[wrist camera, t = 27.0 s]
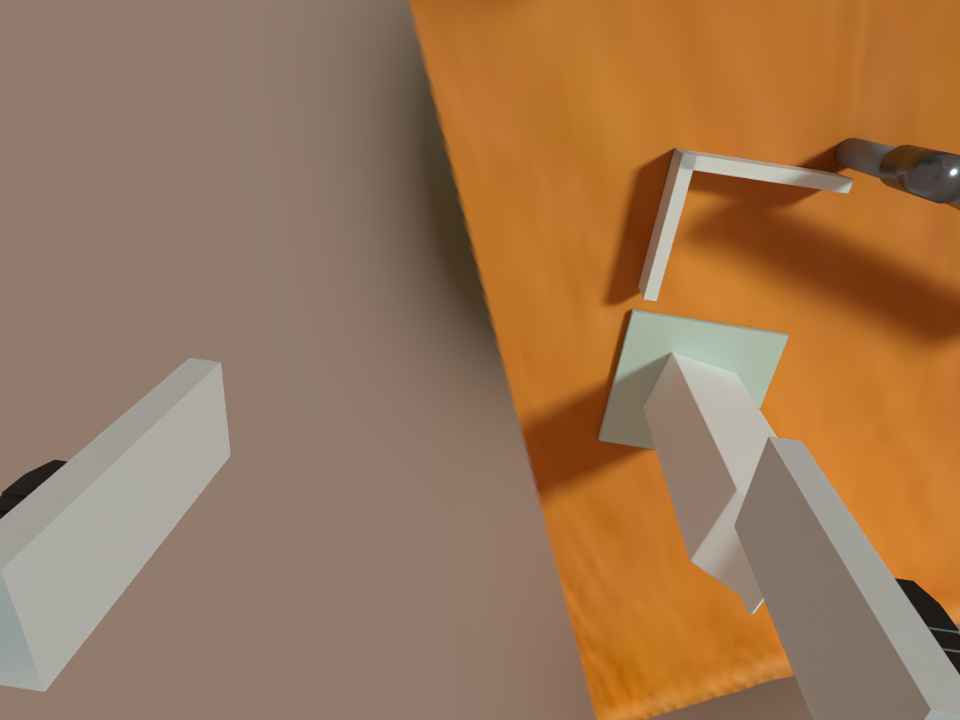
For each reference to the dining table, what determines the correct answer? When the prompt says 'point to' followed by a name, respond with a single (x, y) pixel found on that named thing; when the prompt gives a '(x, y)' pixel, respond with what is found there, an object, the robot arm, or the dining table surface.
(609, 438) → the mat
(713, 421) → the milk
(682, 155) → the bracket
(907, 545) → the dining table surface
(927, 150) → the dark grey metallic bar
